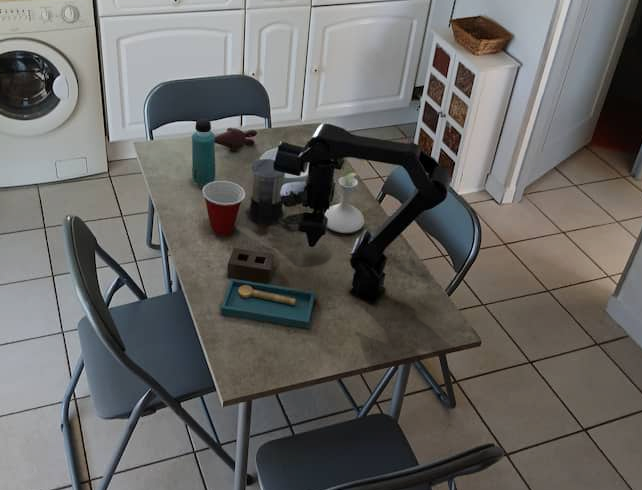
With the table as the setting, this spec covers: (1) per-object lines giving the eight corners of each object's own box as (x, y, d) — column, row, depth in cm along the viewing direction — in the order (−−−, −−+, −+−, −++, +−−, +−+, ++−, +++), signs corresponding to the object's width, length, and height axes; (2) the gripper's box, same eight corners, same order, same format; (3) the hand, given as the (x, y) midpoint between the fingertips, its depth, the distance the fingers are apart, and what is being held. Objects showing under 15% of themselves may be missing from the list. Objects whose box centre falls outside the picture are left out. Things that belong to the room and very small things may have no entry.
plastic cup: (251, 234, 192) (253, 197, 185) (213, 246, 187) (213, 207, 180) (232, 212, 199) (233, 175, 192) (195, 222, 194) (195, 184, 187)
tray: (314, 298, 175) (315, 292, 173) (308, 328, 166) (309, 322, 165) (230, 285, 176) (231, 278, 175) (220, 314, 168) (220, 307, 167)
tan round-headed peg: (297, 299, 173) (240, 287, 175) (297, 294, 172) (240, 282, 174) (293, 309, 170) (236, 297, 172) (294, 304, 169) (236, 292, 171)
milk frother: (245, 205, 202) (247, 159, 194) (301, 200, 207) (305, 155, 198) (256, 237, 191) (259, 190, 183) (315, 231, 196) (320, 185, 187)
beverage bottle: (220, 182, 210) (221, 120, 198) (205, 193, 205) (205, 130, 194) (202, 174, 213) (201, 112, 201) (186, 184, 208) (185, 122, 196)
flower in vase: (369, 234, 197) (383, 154, 182) (328, 239, 193) (339, 158, 179) (353, 206, 207) (364, 127, 192) (314, 210, 203) (322, 131, 189)
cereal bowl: (299, 161, 223) (300, 140, 219) (328, 189, 212) (330, 169, 208) (248, 173, 215) (249, 152, 211) (276, 204, 204) (277, 183, 200)
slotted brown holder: (273, 268, 182) (274, 254, 180) (269, 284, 177) (270, 269, 175) (233, 261, 183) (233, 247, 180) (227, 277, 178) (227, 263, 175)
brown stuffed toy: (213, 140, 216) (261, 138, 222) (207, 123, 220) (254, 120, 226) (209, 157, 221) (256, 154, 227) (203, 139, 225) (250, 137, 231)
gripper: (291, 152, 172) (286, 206, 181) (276, 197, 157) (272, 254, 166) (338, 159, 172) (331, 213, 181) (328, 205, 156) (321, 261, 166)
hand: (314, 234), depth 173 cm, fingers open, 9 cm apart
